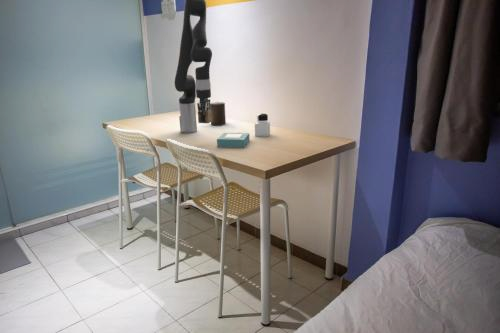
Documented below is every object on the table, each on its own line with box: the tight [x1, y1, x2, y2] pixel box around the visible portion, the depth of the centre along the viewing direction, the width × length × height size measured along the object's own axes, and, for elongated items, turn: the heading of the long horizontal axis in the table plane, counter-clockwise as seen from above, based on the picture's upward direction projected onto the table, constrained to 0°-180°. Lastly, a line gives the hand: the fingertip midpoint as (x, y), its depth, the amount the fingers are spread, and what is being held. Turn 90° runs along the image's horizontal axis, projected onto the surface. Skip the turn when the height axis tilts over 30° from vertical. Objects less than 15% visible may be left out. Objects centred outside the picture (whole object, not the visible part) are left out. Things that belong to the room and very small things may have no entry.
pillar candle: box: [210, 101, 227, 126], centre depth 242 cm, size 10×10×15 cm
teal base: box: [216, 132, 250, 148], centre depth 195 cm, size 14×14×4 cm
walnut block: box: [197, 110, 212, 124], centre depth 196 cm, size 6×6×6 cm
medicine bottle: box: [254, 113, 271, 138], centre depth 210 cm, size 7×7×12 cm
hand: (204, 120), depth 196 cm, fingers closed on walnut block, 5 cm apart
